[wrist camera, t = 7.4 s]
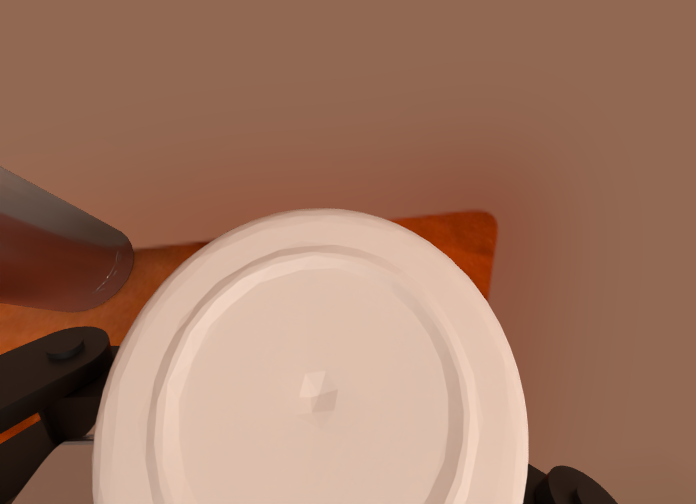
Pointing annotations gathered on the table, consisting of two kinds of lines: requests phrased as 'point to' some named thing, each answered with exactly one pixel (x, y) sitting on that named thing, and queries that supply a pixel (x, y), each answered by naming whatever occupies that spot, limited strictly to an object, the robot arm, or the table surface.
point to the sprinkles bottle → (313, 376)
